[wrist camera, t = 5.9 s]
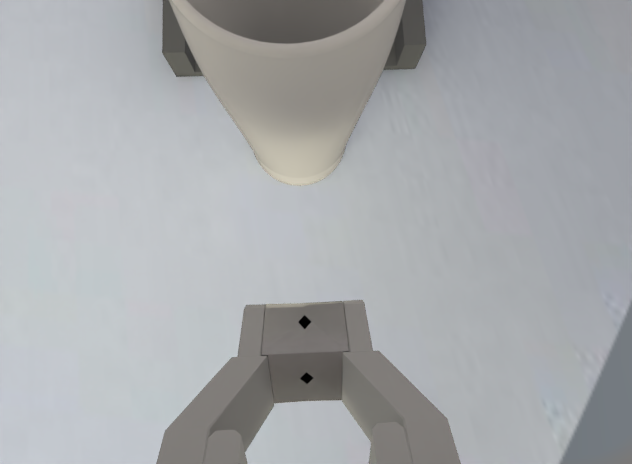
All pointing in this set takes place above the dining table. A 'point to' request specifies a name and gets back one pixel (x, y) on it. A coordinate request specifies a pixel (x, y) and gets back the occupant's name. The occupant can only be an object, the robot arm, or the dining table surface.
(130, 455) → the dining table surface
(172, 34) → the tray
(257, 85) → the drinking glass
